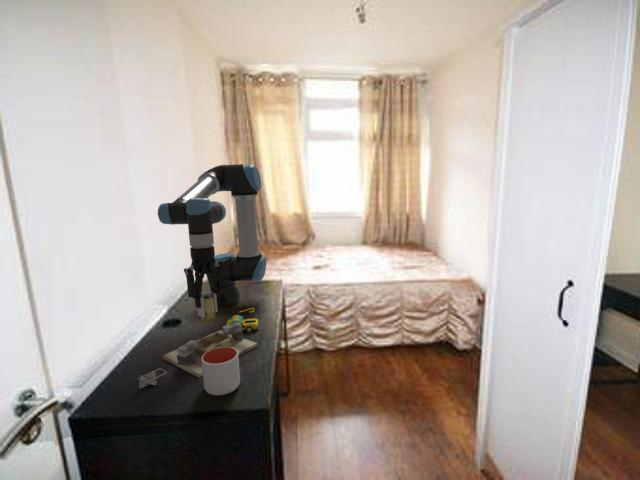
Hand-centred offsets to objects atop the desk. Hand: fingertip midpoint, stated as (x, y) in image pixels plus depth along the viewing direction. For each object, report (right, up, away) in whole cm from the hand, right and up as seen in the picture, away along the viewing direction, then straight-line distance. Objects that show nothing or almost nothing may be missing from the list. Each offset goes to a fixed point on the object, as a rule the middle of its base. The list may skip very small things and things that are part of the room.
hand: (208, 313), depth 121 cm
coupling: (0, -2, 0) cm, 2 cm away
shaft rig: (0, -14, +3) cm, 14 cm away
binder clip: (-11, -18, -16) cm, 27 cm away
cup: (+10, -18, -18) cm, 27 cm away
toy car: (+7, -11, +21) cm, 24 cm away
